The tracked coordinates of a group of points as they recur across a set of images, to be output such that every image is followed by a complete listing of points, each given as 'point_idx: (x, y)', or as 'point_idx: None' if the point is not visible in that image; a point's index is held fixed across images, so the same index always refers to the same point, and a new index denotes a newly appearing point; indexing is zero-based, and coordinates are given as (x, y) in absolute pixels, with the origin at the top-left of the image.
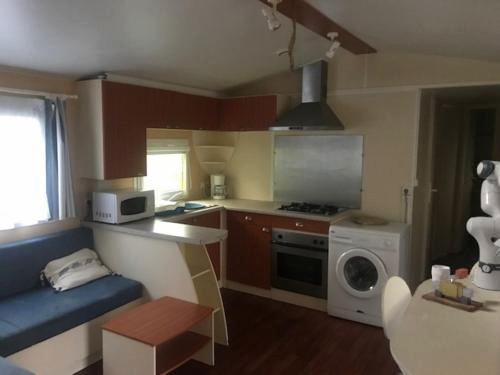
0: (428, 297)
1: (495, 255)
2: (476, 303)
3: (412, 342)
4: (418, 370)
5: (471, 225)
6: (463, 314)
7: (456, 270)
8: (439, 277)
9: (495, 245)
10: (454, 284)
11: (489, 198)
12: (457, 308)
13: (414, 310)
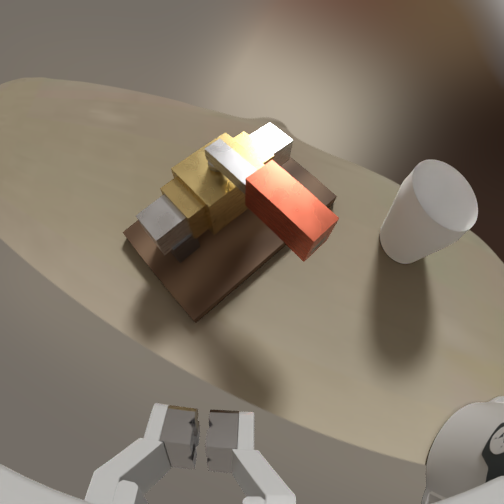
0: None
1: (234, 412)
2: (183, 288)
3: (20, 94)
4: None
5: None
6: (107, 209)
7: (268, 162)
8: (395, 197)
9: (464, 493)
10: (184, 162)
11: None
12: None
13: (147, 103)
